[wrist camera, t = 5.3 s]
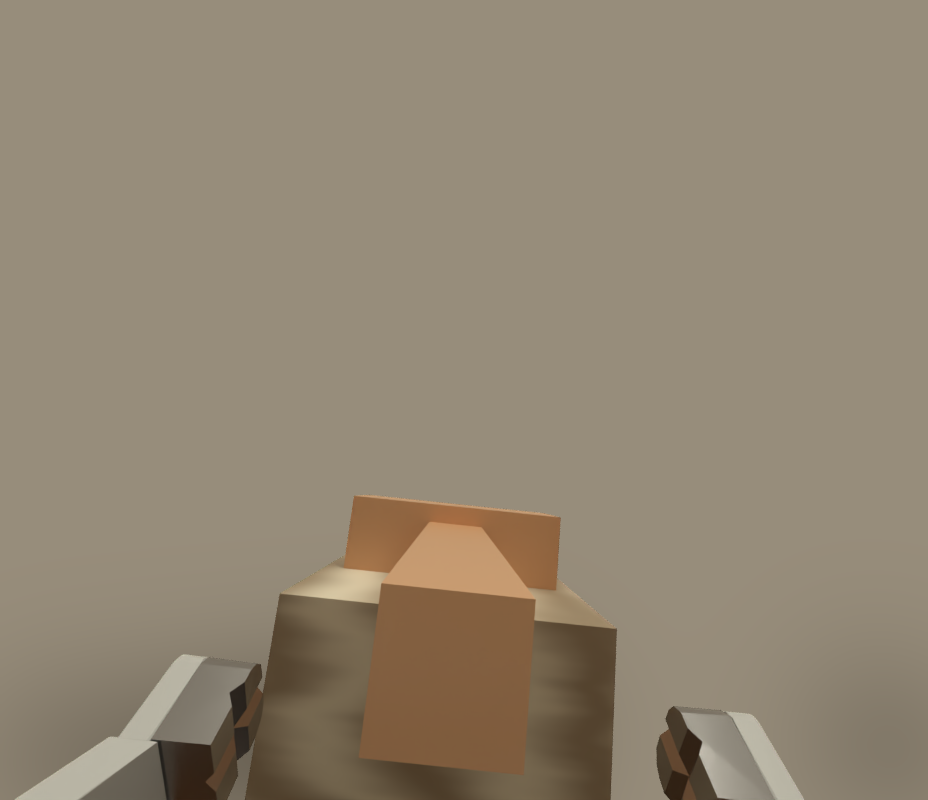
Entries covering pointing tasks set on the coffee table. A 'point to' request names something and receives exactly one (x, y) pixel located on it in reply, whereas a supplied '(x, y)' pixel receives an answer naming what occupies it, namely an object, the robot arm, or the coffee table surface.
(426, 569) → the t bar
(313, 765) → the pedestal
